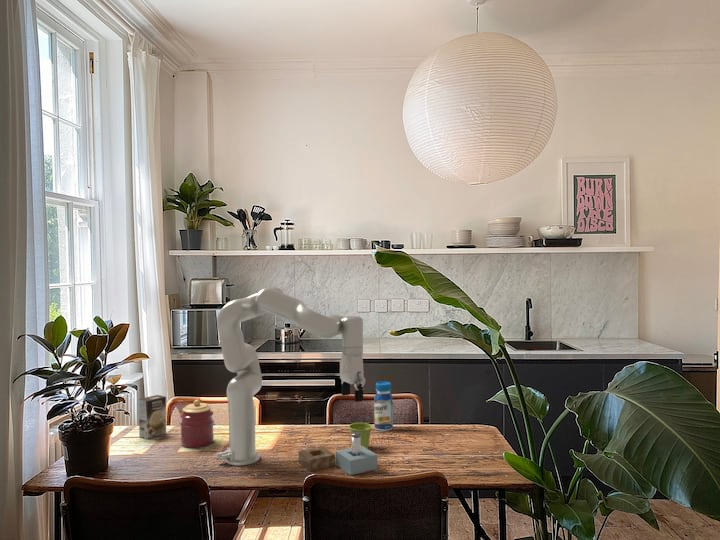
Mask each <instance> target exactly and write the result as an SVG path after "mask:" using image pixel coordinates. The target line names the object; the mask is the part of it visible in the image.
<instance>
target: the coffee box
mask: <svg viewBox="0 0 720 540" xmlns="http://www.w3.org/2000/svg"><path fill="white" fill-rule="evenodd" d="M138 401H139V402H138V403H139V404H138V405H139V406H138V407H139V410H138V414H139V416H138V419H139V421H138V423H139V425H138V427H139V428H138V430H139V431H138V433H139V435H138V436H139V437H141V438H143V437H144V439H146V438H147V440H148V438H149V439H151V438H155V436H156V437H159V436H163V435H166V434H167V397H166V396H165V395H164V396H163V395H161V394H160V395H159V394H156V395H152V396H146V397H142V398H139V399H138ZM165 433H166V434H165ZM158 435H159V436H158Z"/></svg>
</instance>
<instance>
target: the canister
mask: <svg viewBox="0 0 720 540" xmlns="http://www.w3.org/2000/svg"><path fill="white" fill-rule="evenodd" d="M213 415H214V411H213V410H212V406H211V405H209V404H207V403H206V402H201V401H200V400H199V399H195V400H194V401H193V403H188V404H187V405H186V406H185V407H183V408H182V413H181V414H180V415H179V416H180V418H181V422H180V443H181V446H183V447H184V448H189V449H190V448H201V447H206V446H209V445H211V444H212V443H213V442H214V439H215V434H214V421H215V420H214V419H213Z"/></svg>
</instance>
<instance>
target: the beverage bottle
mask: <svg viewBox="0 0 720 540" xmlns="http://www.w3.org/2000/svg"><path fill="white" fill-rule="evenodd" d="M391 390H392V383H391V382H390V381H377V382H376V383H375V391H376V393H375V394H374V399H373V400H374V402H373V407H374V408H373V409H374V412H373V413H374V429H375V430H377V431H381V432H385V431H391V430H393V428H394V402H393V399H394V398H393V397H394V396H393V395H392V393H391Z"/></svg>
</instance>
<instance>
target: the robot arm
mask: <svg viewBox="0 0 720 540" xmlns="http://www.w3.org/2000/svg"><path fill="white" fill-rule="evenodd" d="M267 313H269V314H272V315H274V316H276V317H279V318H280V319H284V320H286V321H288V322H289V323H290V322H291V323H292V324H294V325H296V326H297V327H299V328H300V329H302V330H304V331H305V332H308V333H310V334H312V335H315V336H317V337H320V338H322V339H333V338H334V337H336V336H338V335H341V356H340V367H339V379H340V380H341V382H340V384H341V395H342V396H349V395H351V385H353V386H354V388H355V390H354V402H355V403H357V402H363V401H364V390H365V386H366V385H365V384H366V378H365V376H364V374H365V372H364V361H363V360H364V359H363V355H364V353H363V351H364V338H363V337H364V320H363V318H362V317H361V316H357V315H356V316H355V315H347V316H345V315H344V316H343V315H338V314H330V315H328V316H326V315H323V314H321V313H319V312H316V311H315V310H312V309H310V308H309V307H308V306H306V304H305V303H304V302H303V301H302V300H300V299H299V298H296V297H293V296H291V295H288V294H286V293H284V292H283V290H282V289H280V288H279V287H277V286H276V287H275V286H269V287H265V288H261V289H260V290H259V291H258V293H255V294H252V295H250V296H247V297H244V298H237V299H233V300H231V301H228V303H225V305H224V306H223V307H222V308H221V309H220V310H219V312H218V315H217V318H216V325H217V330H218V336H219V341H220V347H221V352H222V357H223V362H224V366H225V368H226V370H228V371H229V372H231V373H236V376H234V377H233V378H232V379H231V380H230V381H229V382H228V384H227V387H226V399H227V407H228V436H229V437H228V438H229V439H228V440H229V442H228V443H229V444H228V445H229V447H226V450H224V451H220V452H216V453H215V454H216V459H222V460H225V461H224V462H225V463H226V464H228V465H230V466H238V467H240V466H249V465H252V464H255V463H256V462H258V461H259V460H260V457H261V455H260V453H259V452H257V451H256V410H255V407H256V406H255V404H254V396H255V395H256V394H257V393H258V392H259V391H260V390H261V388H262V386H263V376H262V371H261V367H260V361H259V357H258V353H257V351H256V349H255V347H254V346H252V345H251V344H249V343H245V339H244V338H245V337H244V334H243V333H244V332H243V330H242V329H241V327H240V326H241V325H240V324H241V323H242V322H246V321H248V320H252V319H254V318H257V317H259V316H262V315H264V314H267Z"/></svg>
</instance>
